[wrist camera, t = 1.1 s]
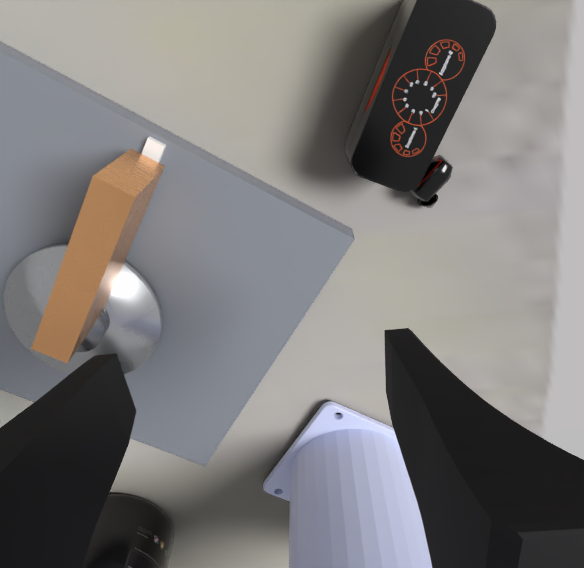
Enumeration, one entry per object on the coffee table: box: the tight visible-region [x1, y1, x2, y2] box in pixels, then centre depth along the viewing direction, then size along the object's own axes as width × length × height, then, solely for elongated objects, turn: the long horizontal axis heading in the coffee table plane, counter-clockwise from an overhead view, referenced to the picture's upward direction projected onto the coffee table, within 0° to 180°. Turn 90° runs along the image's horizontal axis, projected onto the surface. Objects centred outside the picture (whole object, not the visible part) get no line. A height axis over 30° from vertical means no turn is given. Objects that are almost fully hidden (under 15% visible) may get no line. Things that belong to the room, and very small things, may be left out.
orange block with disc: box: [4, 149, 165, 374], centre depth 19 cm, size 12×7×4 cm, turn 151°
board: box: [0, 42, 354, 466], centre depth 23 cm, size 18×16×2 cm
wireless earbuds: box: [345, 0, 496, 208], centre depth 18 cm, size 5×7×3 cm, turn 160°
